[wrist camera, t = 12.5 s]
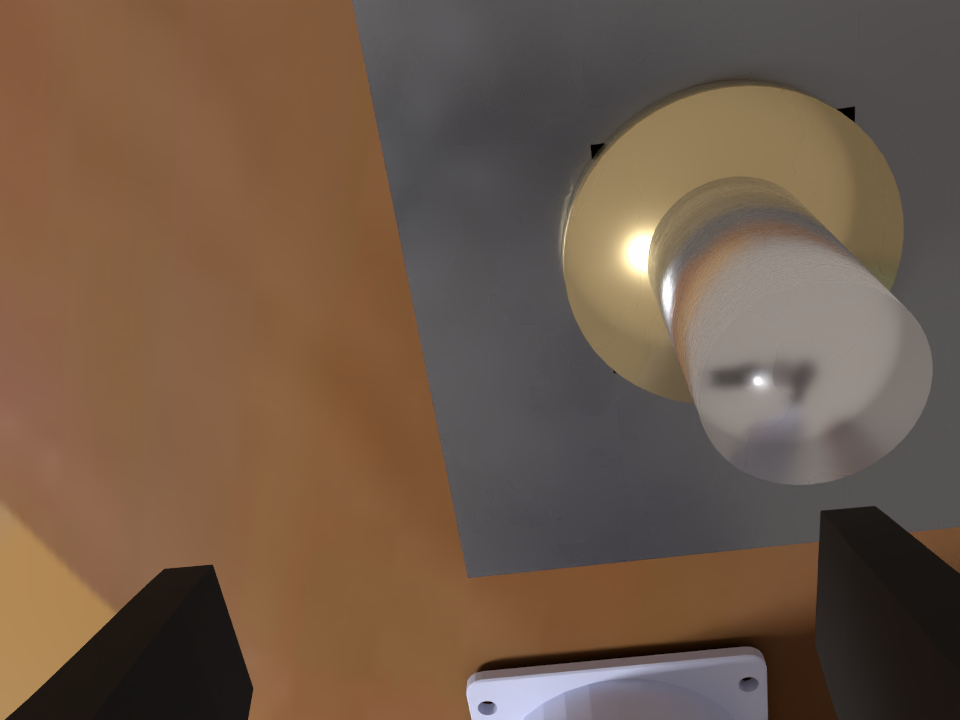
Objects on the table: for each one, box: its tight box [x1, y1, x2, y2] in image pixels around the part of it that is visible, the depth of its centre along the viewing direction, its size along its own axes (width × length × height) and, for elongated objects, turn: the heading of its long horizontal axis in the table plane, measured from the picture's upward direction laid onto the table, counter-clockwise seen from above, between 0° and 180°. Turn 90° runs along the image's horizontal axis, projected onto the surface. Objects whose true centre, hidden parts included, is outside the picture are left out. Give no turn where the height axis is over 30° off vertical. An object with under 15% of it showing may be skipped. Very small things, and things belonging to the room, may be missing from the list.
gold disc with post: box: [562, 80, 933, 485], centre depth 16 cm, size 6×6×8 cm
